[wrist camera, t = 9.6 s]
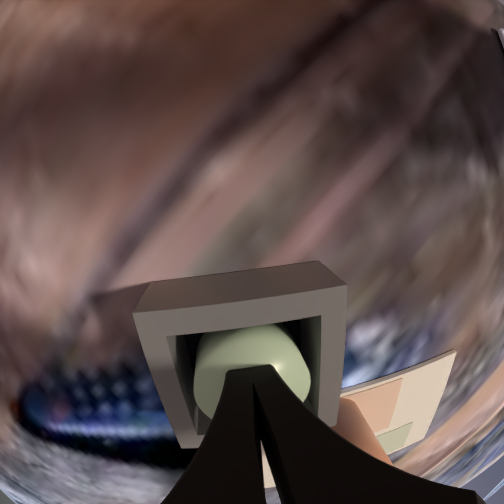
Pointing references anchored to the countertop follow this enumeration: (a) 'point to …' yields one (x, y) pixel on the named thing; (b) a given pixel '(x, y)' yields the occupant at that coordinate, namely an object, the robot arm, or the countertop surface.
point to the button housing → (239, 316)
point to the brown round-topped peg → (358, 430)
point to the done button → (246, 360)
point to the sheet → (396, 404)
